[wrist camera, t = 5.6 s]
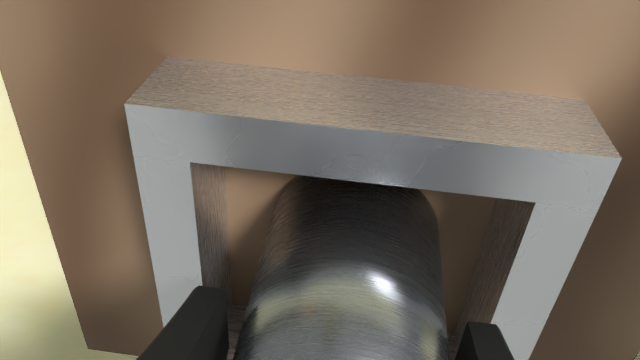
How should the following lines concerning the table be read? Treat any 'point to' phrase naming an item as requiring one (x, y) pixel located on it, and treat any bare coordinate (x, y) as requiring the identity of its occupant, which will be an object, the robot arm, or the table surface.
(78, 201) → the walnut base plate
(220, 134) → the square metal frame
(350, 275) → the cylinder
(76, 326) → the table surface
